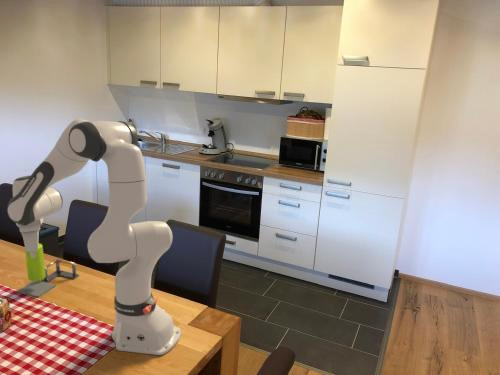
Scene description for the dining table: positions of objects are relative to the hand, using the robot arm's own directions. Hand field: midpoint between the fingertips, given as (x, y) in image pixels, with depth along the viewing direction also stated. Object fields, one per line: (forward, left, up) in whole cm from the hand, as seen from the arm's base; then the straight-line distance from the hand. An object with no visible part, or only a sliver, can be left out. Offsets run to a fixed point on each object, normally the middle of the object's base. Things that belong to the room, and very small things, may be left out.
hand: (33, 252), depth 157 cm
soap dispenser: (0, 0, -11) cm, 11 cm away
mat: (0, 0, -16) cm, 16 cm away
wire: (-3, -9, -16) cm, 18 cm away
